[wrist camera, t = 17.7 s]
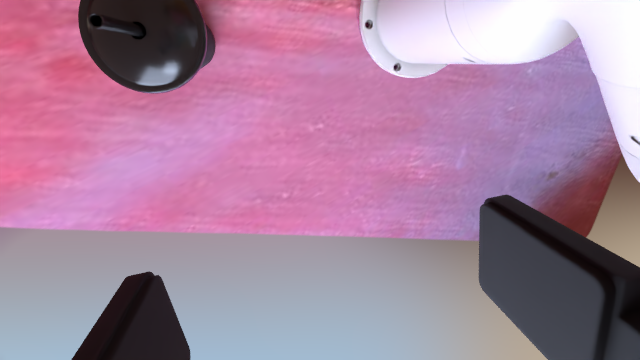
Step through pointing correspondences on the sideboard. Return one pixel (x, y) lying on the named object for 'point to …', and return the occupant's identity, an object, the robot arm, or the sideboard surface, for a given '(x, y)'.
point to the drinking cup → (146, 41)
